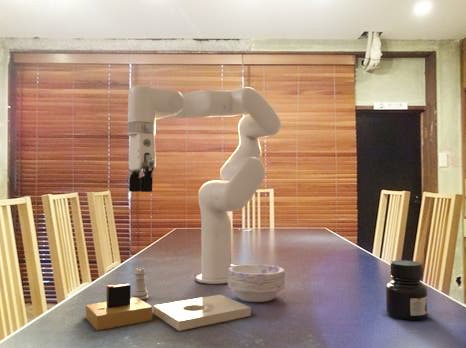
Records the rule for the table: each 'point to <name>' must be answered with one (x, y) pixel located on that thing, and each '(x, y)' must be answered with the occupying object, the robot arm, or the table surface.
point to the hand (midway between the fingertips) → (140, 191)
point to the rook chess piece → (140, 285)
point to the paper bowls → (256, 281)
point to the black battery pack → (118, 295)
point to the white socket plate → (200, 311)
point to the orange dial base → (118, 314)
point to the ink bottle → (406, 291)
